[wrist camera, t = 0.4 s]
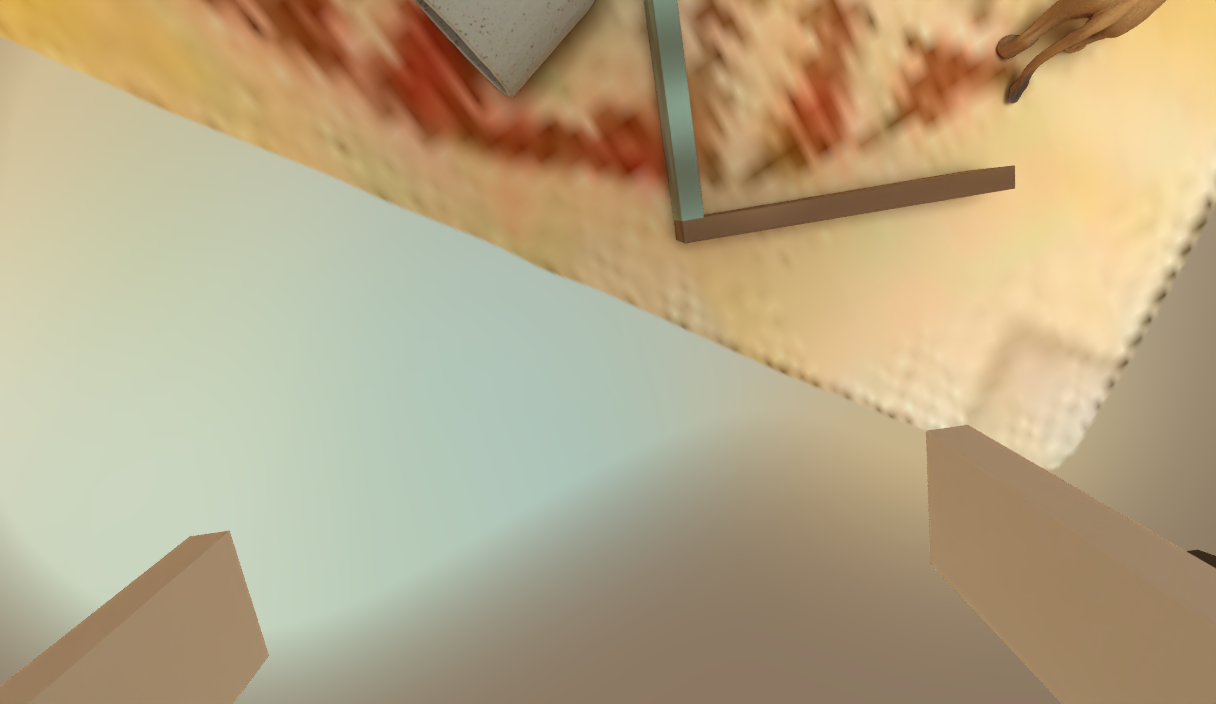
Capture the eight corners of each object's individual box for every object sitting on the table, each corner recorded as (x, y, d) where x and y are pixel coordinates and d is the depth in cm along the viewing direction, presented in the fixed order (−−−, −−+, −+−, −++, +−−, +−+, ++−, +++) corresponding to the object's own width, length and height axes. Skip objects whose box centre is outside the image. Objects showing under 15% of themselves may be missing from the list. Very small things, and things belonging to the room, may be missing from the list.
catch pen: (625, -133, 33) (629, -179, 29) (960, -194, 32) (1009, -249, 29) (676, 239, 37) (685, 243, 33) (971, 190, 37) (1015, 188, 33)
